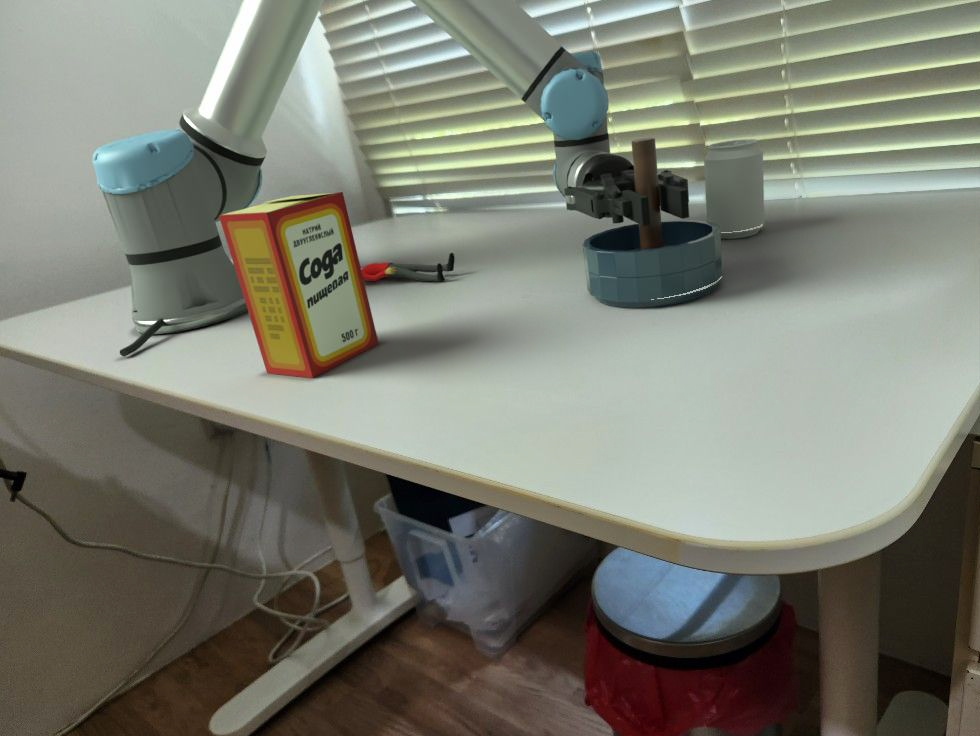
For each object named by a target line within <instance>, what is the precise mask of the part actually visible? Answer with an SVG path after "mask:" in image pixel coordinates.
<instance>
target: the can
mask: <svg viewBox="0 0 980 736" xmlns="http://www.w3.org/2000/svg"><path fill="white" fill-rule="evenodd" d="M758 141H759V140H758V139H755V138H744V139H733V140H725V141H720V142H715V143H712V144H709V145H708V146H707V148H708V149H709V151H708V152H707V153H706V155H705V156H704V157H703V167H704V168H703V169H704V170H703V171H704V187H705V188H704V189H705V207H706V208H705V209H706V222H712V223H714V224H716V225H718V226H720V231H721V232H732V233H721V240H722V239H725V240H732V239H743V238H748V237H752V236H755V235H757V234H758V233H759V231H760V230H761V229H762V228H763V227H764V226H765V185H764V184H765V183H764V151H763V150H762V149H761V148H760V147H759V146H758V145H757V144H758ZM763 223H764V225H763V226H762V227H760V228H756V229H753V230H748V231H742V232H733V231H741V230H746V229H750V228H754V227H757V226H760V225H761V224H763Z"/></svg>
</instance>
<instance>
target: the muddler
mask: <svg viewBox="0 0 980 736" xmlns="http://www.w3.org/2000/svg"><path fill="white" fill-rule="evenodd" d="M631 151H632V153H631V154H632V164H633V165H634V177H635V188H636V193H639V194H641V195H644V196H647V197H648V202H649V214H650V225H646V226H642V225H640V224H639V235H640V246H641V250H645V249H655V248H662V247H663V239H662V226H661V221H662V215H661V213H662V211H661V208H660V199H659V185H658V173H659V172H658V160H657V159H658V158H657V146H656V138H655V137H645V138H637V139H634V140H631Z"/></svg>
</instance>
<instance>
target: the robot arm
mask: <svg viewBox="0 0 980 736" xmlns="http://www.w3.org/2000/svg"><path fill="white" fill-rule="evenodd" d="M410 2H411V3H413V5H415V6H416V7H417V8H418V9H419V10H421V11H422V12H423V13H424V14H425V15H426V16H427V17H428V18H429V19H430V20H432V21H433V22H434V23H435V24H436V25H437V26H438V27H440V29H442V31H444V32H445V33H446V34H447V35H449V36H450V37H451V38H452V39H453V40H454V41H455V42H456V43H457V44H458V45H459V46H460V47H462V48H463V49H464V50H465V51H466V52H467V53H468V54H470V55H471V56H472V57H473V58H474V59H475V60H476V61H478V62H479V63H480V64H481V65H482V66H483V67H484V68H485V69H486V70H487V71H489V72H490V73H491V74H492V75H493V76H495V78H496V79H498V80H499V81H500V82H501V83H502V84H503V85H505V87H507V88H508V89H509V90H510V91H511V92H512V93H513V94H515V96H517V97H518V98H519V99H520V100H521V101H522V102H524V103H525V105H526V106H527V107H528V108H529V109H531V110H532V111H533V112H534V113H535V114H537V116H538V117H540V119H542V120H543V122H544V123H545V125H546V127H547V128H548V129H549V130H550V131H551V132H552V135H553V145H554V155H555V163H554V165H553V169H552V177H553V183H554V185H555V187H556V189H557V190H558V192H559V193H560V194H561V195H562V197H563V198H564V199H565V207H566V210H567V211H577V212H579V213H580V214H581V213H582V214H584V215H586V216H589V217H591V218H594V219H597V220H601V219H604V218H606V219H612V224H621V223H624V222H625V221H624V218H626V219H628V220H630V221H632V222H634V223H635V224H640V225H642V226H646V225H650V214H649V202H648V197H647V196H644V195H641V194H639V193H636V188H635V177H634V165H633V162H631V161H630V160H629V159H627V158H626V157H624V156H621V155H618V154H617V155H616V154H613V153H611V145H610V137H609V136H610V135H609V130H608V118H607V117H608V111H609V95H608V90H607V89H606V87H605V84H604V83H605V82H604V80H605V77H604V71H603V65H602V61H601V56H600V54H599V53H598V52H596V51H594V50H593V51H592V50H591V51H583V52H577V53H571V52H569V51H568V50H567V49H565V48H564V46H563V45H562V44H561V43H560V42H558V40H557V39H556V38H554V37H553V36H552V35H551V34H550V33H549V32H548V31H547V30H546V29H545V28H544V27H543V26H542V25H540V24H539V22H537V21H536V20H535V19H534V18H533V17H532V16H531V15H530V14H529V13H528V12H527V11H525V10H524V8H522V7H521V6H520V4H519V3H517V2H516V1H515V0H410ZM323 3H324V0H242V1H241V4H240V7H239V10H238V12H237V13H236V16H235V19H234V21H233V23H232V26H231V28H230V31H229V34H228V36H227V38H226V41H225V43H224V46H223V48H222V50H221V53H220V56H219V57H218V60H217V62H216V65H215V68H214V70H213V72H212V75H211V78H210V80H209V82H208V84H207V87H206V89H205V91H204V94H203V97H202V99H201V101H200V103H199V104H198V105H195V106H191V107H187V108H185V109H184V110H183V111H182V114H181V117H180V119H179V121H178V124H177V126H176V128H175V129H163V130H157V131H151V132H146V133H141V134H137V135H133V136H130V137H128V138H121V139H117V140H114V141H112V142H108V143H106V144H104V145H102V146H99V147H98V148H97V149H96V150H95V151H94V152H93V154H92V165H93V168H94V171H95V176H96V183H97V186H98V189H100V191H101V194H102V196H103V198H104V201H105V204H106V207H107V209H108V213H109V214H110V217H111V220H112V223H113V225H114V228H115V231H116V234H117V236H118V239H119V242H120V245H121V248H122V250H123V253H124V255H125V257H126V261H127V264H128V267H129V269H130V275H131V276H130V277H131V278H130V280H131V281H130V282H131V283H130V285H131V287H130V289H131V305H132V308H131V319H132V322H133V324H134V328H135V329H136V331H137V332H138V333H140V336H139V337H138V338H136V340H134V341H133V342H132V343H131V344H129V345H128V346H125V347H123V348H121V349H120V350H119V355H120V356H122V357H127V356H129V355H131V354H132V353H134V352H136V351H137V350H138V349H140V348H142V347H143V345H144V344H146V343H147V341H148V340H150V339H151V337H152V336H153V335H162V334H170V333H171V334H172V333H178V332H183V331H188V330H193V329H194V330H195V329H198V328H202V327H206V326H210V325H213V324H217V323H219V322H222V321H225V320H229V319H231V318H234V317H236V316H238V315H241V314H243V313H245V312H248V309H247V306H246V303H245V300H244V296H243V293H242V290H241V286H240V283H239V280H238V277H237V273H236V270H235V267H234V264H233V261H232V259H230V257H229V256H228V255H227V253H226V251H225V248H224V246H223V242H222V240H221V236H220V233H219V228H218V226H217V223H218V222H221V221H220V218H219V215H223V214H227V213H230V212H234V211H238V210H242V209H246V208H249V207H250V206H251V205H252V204H253V203H254V202H255V200H256V199H257V198H258V196H259V193H260V191H261V190H262V189H261V188H262V185H263V170H262V168H261V167H262V165H263V164H264V161H265V159H266V157H267V154H268V150H267V147H266V145H265V142H264V139H263V135H264V133H265V131H266V129H267V126H268V124H269V122H270V120H271V117H272V115H273V113H274V111H275V108H276V106H277V105H278V102H279V99H280V98H281V95H282V94H283V91H284V89H285V86H286V84H287V82H288V80H289V78H290V75H291V73H292V72H293V69H294V67H295V65H296V63H297V60H298V58H299V56H300V53H301V51H302V49H303V47H304V46H305V45H304V44H305V43H306V40H307V38H308V36H309V34H310V32H311V29H312V27H313V25H314V22H315V21H316V18H317V16H318V14H319V12H320V9H321V7H322V5H323ZM658 185H659V199H660V212H664V213H665V214H666V213H667V214H669V215H671V216H674V217H677V218H678V219H680V220H685V219H689V218H690V206H689V203H690V196H689V195H690V194H689V179H688V178H685V177H683V176H681V175H677V174H674V173H672V170H669V169H664V170H663V171H661V172H658Z"/></svg>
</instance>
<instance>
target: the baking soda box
mask: <svg viewBox="0 0 980 736" xmlns="http://www.w3.org/2000/svg"><path fill="white" fill-rule="evenodd" d="M219 218H220V221H219V222H220V224H221V228H222V231H223V233H224V238H225V240H226V244H227V247H228V251H229V254H230V257H231V261H232V263H233V264H234V267H235V270H236V273H237V277H238V280H239V283H240V286H241V290H242V293H243V296H244V300H245V303H246V306H247V309H248V310H247V312H248V315H249V319H250V322H251V325H252V329H253V332H254V335H255V338H256V342H257V345H258V348H259V351H260V354H261V355H260V356H261V358H262V361H263V365H264V368H265V372H266V374H269V375H271V374H272V375H280V376H281V375H282V376H289V377H299V378H307V379H308V378H309V379H314V378H316V377H318V376H320V375H322V374H325V372H327V371H330V370H332V369H333V368H335V367H337V366H339V365H341V364H343V363H344V362H347V361H348V360H350V359H352V358H354V357H356V356H358V355H360V354H361V353H363V352H366V351H368V350H369V349H371V348H373V347H375V346H377V345H379V344H380V343H379V339H378V335H377V334H378V333H377V330H376V326H375V322H374V318H373V315H372V314H373V313H372V310H371V306H370V301H369V297H368V293H367V288H366V285H365V280H363V275H362V271H361V269H362V267H361V264H360V259H359V253H358V251H357V246H356V242H355V238H354V234H353V230H352V225H351V221H350V216H349V211H348V208H347V204H346V201H345V196H344V192H343V191H336V192H323V193H308V194H295V195H291V196H290V195H289V196H286V197H282V198H277V199H272V200H267V201H266V202H264V201H263V202H262V203H261V204H257V205H254V206H249V207H247V208H246V209H242V210H238V211H234V212H230V213H227V214H223V215H219Z"/></svg>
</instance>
